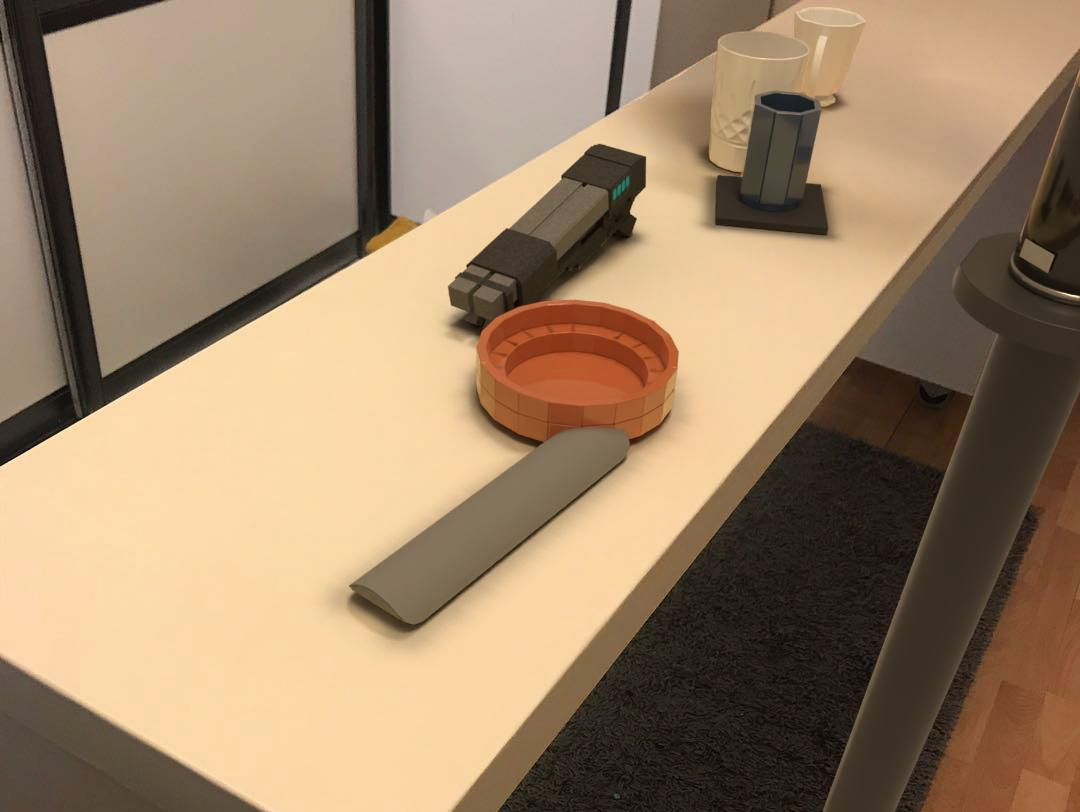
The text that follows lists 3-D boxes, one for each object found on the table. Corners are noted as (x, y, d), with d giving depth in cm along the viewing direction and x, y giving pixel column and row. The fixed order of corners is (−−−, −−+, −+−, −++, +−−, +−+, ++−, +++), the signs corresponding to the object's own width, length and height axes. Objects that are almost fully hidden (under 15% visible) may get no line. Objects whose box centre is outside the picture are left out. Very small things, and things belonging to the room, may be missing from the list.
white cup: (695, 169, 95) (711, 52, 89) (708, 139, 101) (724, 26, 95) (783, 182, 94) (806, 64, 88) (792, 150, 100) (814, 37, 93)
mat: (819, 190, 93) (821, 184, 93) (826, 235, 86) (828, 228, 86) (716, 181, 94) (717, 174, 93) (715, 224, 87) (716, 217, 87)
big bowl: (675, 357, 71) (682, 310, 69) (666, 465, 62) (674, 415, 60) (495, 338, 72) (495, 291, 70) (460, 442, 63) (460, 392, 61)
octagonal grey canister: (799, 189, 92) (818, 94, 86) (802, 215, 88) (822, 116, 82) (738, 184, 92) (754, 88, 87) (738, 209, 88) (755, 110, 83)
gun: (654, 228, 85) (646, 120, 76) (521, 405, 77) (496, 306, 69) (605, 213, 86) (592, 106, 78) (470, 385, 79) (440, 286, 70)
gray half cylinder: (342, 597, 52) (339, 570, 51) (576, 424, 64) (577, 399, 63) (405, 637, 51) (404, 610, 49) (634, 451, 62) (637, 426, 61)
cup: (850, 93, 113) (869, 11, 107) (840, 125, 106) (859, 38, 100) (784, 84, 114) (799, 2, 109) (770, 114, 107) (785, 28, 102)
